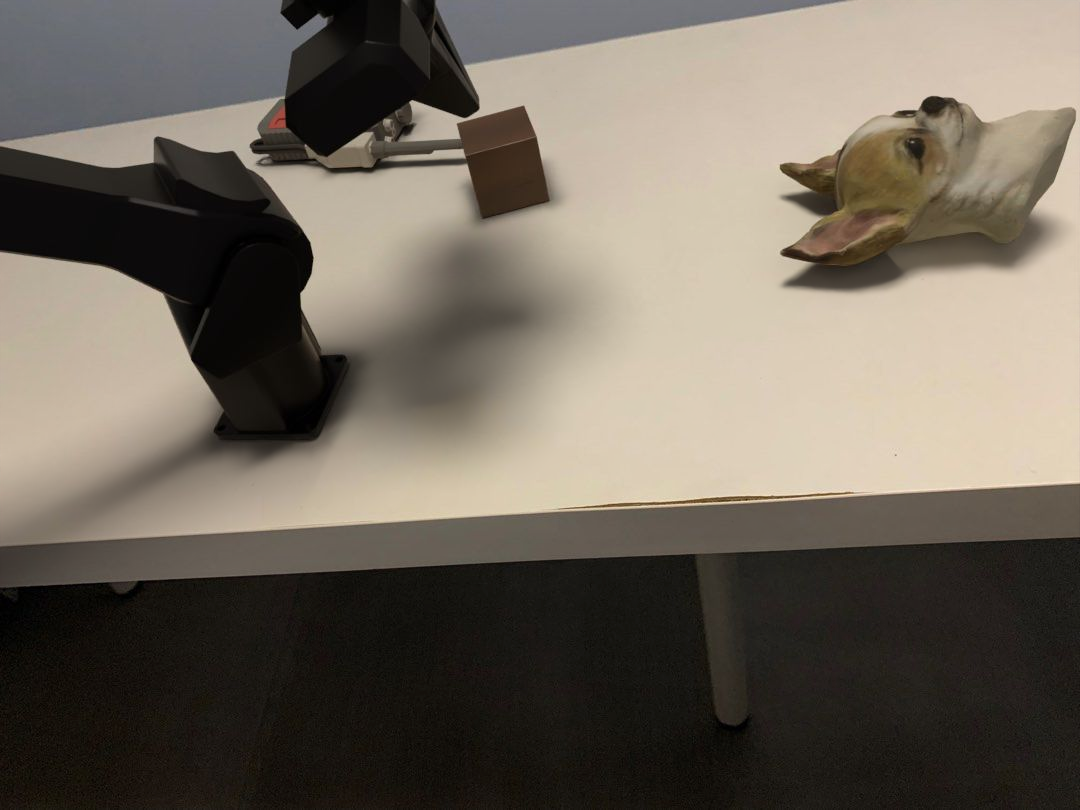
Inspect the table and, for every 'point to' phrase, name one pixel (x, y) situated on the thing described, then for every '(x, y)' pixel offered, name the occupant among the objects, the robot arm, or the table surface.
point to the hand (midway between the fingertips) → (472, 109)
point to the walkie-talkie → (353, 154)
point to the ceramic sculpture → (930, 179)
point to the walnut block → (503, 161)
